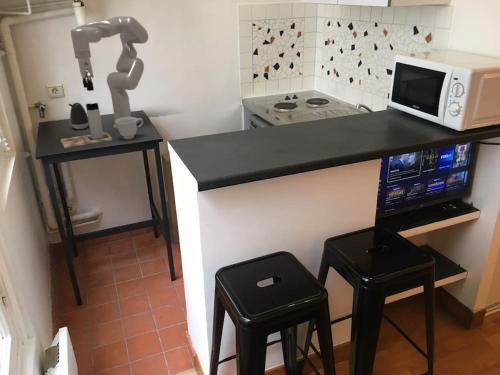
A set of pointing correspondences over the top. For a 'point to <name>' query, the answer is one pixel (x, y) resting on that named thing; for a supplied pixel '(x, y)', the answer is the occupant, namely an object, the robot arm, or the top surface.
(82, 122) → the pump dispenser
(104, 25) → the robot arm
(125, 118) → the teacup
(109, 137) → the beige flat rectangular frame
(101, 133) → the travel mug
